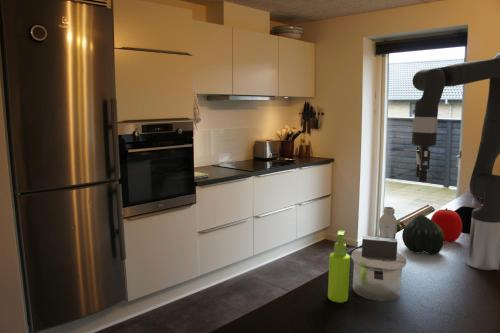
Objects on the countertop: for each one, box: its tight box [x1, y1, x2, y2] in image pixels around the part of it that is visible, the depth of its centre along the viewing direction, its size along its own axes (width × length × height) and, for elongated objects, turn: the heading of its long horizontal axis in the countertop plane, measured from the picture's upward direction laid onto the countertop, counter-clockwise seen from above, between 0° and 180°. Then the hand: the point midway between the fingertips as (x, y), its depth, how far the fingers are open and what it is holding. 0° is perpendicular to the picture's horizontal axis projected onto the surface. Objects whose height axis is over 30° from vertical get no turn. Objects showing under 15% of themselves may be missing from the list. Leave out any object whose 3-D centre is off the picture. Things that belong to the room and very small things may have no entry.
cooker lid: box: [350, 235, 408, 270], centre depth 126 cm, size 16×16×6 cm
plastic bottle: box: [378, 206, 398, 239], centre depth 150 cm, size 6×7×20 cm
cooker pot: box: [352, 261, 403, 302], centre depth 127 cm, size 14×21×10 cm
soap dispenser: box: [327, 229, 351, 303], centre depth 122 cm, size 6×7×20 cm
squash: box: [401, 213, 445, 256], centre depth 162 cm, size 14×15×15 cm
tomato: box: [430, 207, 463, 243], centre depth 174 cm, size 13×11×14 cm
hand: (420, 179), depth 139 cm, fingers open, 8 cm apart
